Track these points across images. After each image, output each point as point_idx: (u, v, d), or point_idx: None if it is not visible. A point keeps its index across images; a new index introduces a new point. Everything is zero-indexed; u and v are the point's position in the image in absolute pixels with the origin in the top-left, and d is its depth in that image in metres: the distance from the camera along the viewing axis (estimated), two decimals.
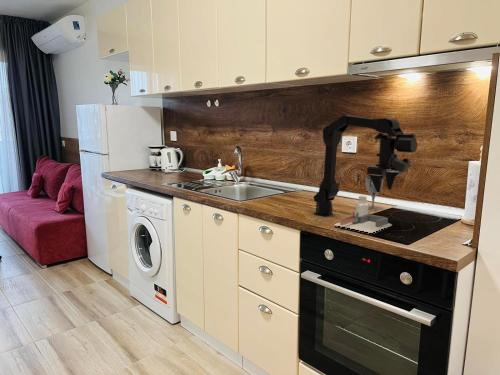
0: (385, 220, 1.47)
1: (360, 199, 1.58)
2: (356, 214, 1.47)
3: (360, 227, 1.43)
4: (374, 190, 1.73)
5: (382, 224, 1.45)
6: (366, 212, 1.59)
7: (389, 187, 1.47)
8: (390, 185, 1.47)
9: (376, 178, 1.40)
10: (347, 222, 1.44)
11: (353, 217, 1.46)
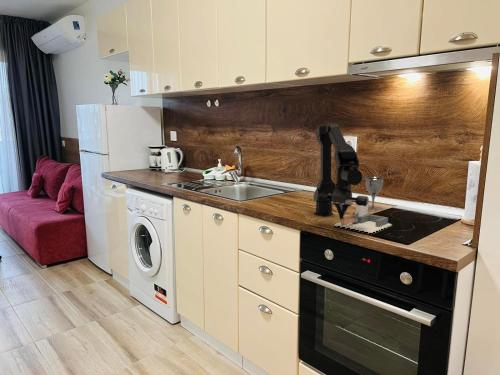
0: (385, 220, 1.47)
1: None
2: (356, 214, 1.47)
3: (360, 227, 1.43)
4: (374, 190, 1.73)
5: (382, 224, 1.45)
6: (366, 212, 1.59)
7: None
8: None
9: None
10: (348, 222, 1.43)
11: (353, 217, 1.46)
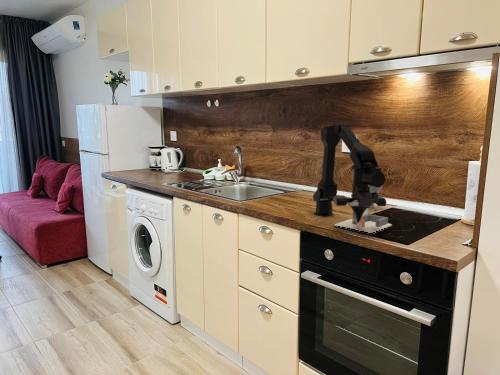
0: (385, 220, 1.47)
1: None
2: None
3: (360, 227, 1.43)
4: (374, 190, 1.73)
5: (382, 224, 1.45)
6: (366, 212, 1.59)
7: None
8: None
9: None
10: None
11: None
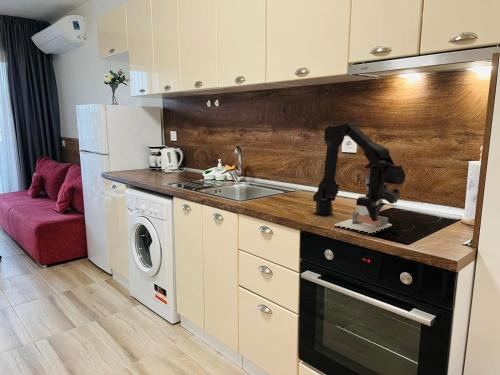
0: (385, 220, 1.47)
1: None
2: None
3: (360, 227, 1.43)
4: None
5: (382, 224, 1.45)
6: (366, 212, 1.59)
7: None
8: None
9: (371, 207, 1.40)
10: None
11: None
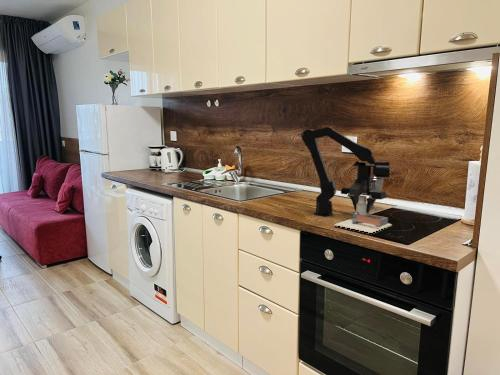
0: (385, 220, 1.47)
1: (360, 199, 1.58)
2: None
3: (360, 227, 1.43)
4: (374, 190, 1.73)
5: (382, 224, 1.45)
6: (366, 212, 1.59)
7: None
8: None
9: None
10: None
11: None
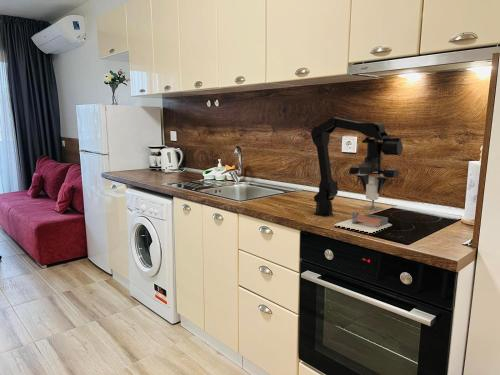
0: (385, 220, 1.47)
1: (370, 179, 1.48)
2: None
3: (360, 227, 1.43)
4: None
5: (382, 224, 1.45)
6: (377, 193, 1.48)
7: None
8: None
9: None
10: None
11: None
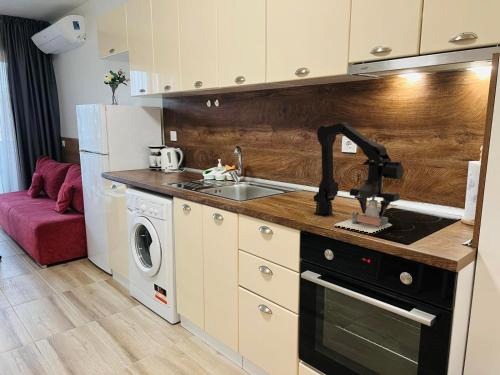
0: (385, 220, 1.47)
1: (371, 203, 1.47)
2: None
3: (360, 227, 1.43)
4: None
5: (382, 224, 1.45)
6: (377, 217, 1.47)
7: None
8: None
9: None
10: None
11: None
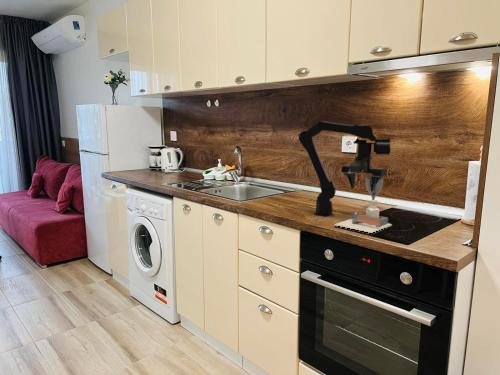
0: (385, 220, 1.47)
1: (371, 203, 1.47)
2: None
3: (360, 227, 1.43)
4: (374, 190, 1.73)
5: (382, 224, 1.45)
6: (377, 217, 1.47)
7: None
8: None
9: None
10: None
11: None
